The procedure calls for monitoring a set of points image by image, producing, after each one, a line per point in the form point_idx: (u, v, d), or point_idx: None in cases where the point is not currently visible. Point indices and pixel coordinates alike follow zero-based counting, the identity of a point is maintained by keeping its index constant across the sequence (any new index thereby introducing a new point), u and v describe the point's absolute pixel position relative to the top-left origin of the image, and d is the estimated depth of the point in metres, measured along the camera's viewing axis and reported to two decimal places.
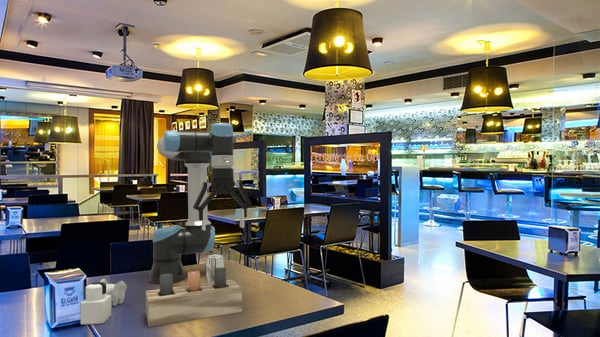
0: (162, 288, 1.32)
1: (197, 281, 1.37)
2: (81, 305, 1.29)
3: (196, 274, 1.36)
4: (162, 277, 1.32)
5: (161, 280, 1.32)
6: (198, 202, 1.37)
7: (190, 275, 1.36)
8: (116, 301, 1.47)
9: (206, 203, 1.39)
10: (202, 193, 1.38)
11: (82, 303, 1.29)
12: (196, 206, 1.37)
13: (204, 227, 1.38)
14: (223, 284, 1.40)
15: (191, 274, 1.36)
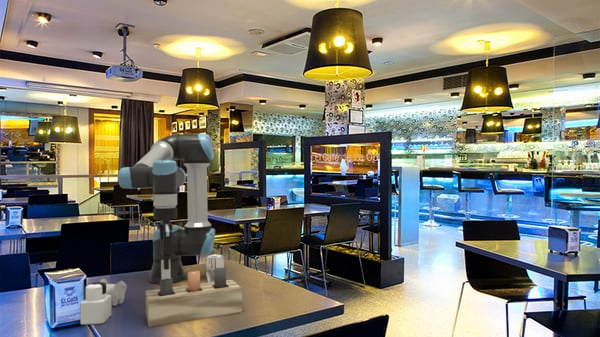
0: (162, 292, 1.32)
1: (197, 281, 1.37)
2: (81, 305, 1.29)
3: (196, 274, 1.36)
4: (162, 281, 1.32)
5: (161, 284, 1.32)
6: (160, 247, 1.37)
7: (190, 275, 1.36)
8: (116, 301, 1.47)
9: (161, 248, 1.35)
10: (160, 237, 1.38)
11: (82, 303, 1.29)
12: (160, 252, 1.37)
13: (161, 275, 1.34)
14: (223, 284, 1.40)
15: (191, 274, 1.36)
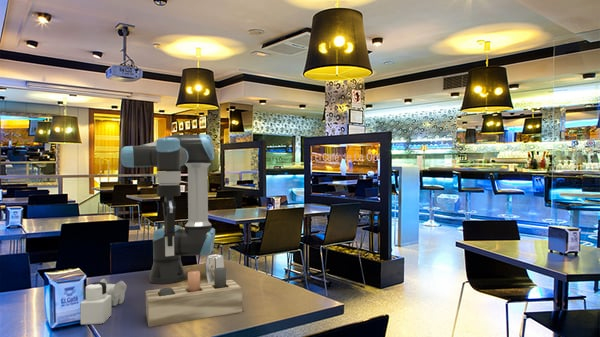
0: None
1: (197, 281, 1.37)
2: (81, 305, 1.29)
3: (196, 274, 1.36)
4: (162, 292, 1.32)
5: (161, 295, 1.32)
6: (164, 225, 1.38)
7: (190, 275, 1.36)
8: (116, 301, 1.47)
9: (165, 226, 1.35)
10: (164, 215, 1.38)
11: (82, 303, 1.29)
12: (164, 229, 1.37)
13: (165, 252, 1.35)
14: (223, 284, 1.40)
15: (191, 274, 1.36)
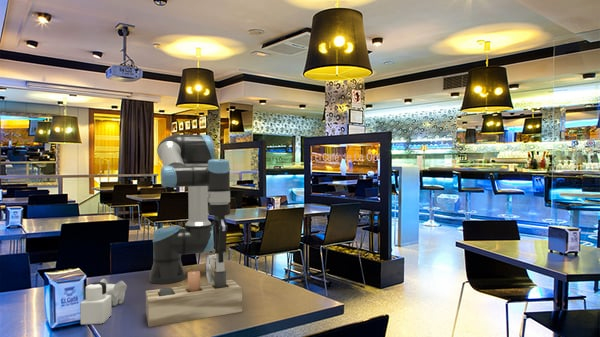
0: None
1: (197, 281, 1.37)
2: (81, 305, 1.29)
3: (196, 274, 1.36)
4: (162, 292, 1.32)
5: (161, 295, 1.32)
6: (214, 242, 1.44)
7: (190, 275, 1.36)
8: (116, 301, 1.47)
9: (215, 243, 1.42)
10: (213, 233, 1.45)
11: (82, 303, 1.29)
12: (214, 246, 1.44)
13: (216, 268, 1.41)
14: (223, 287, 1.40)
15: (191, 274, 1.36)
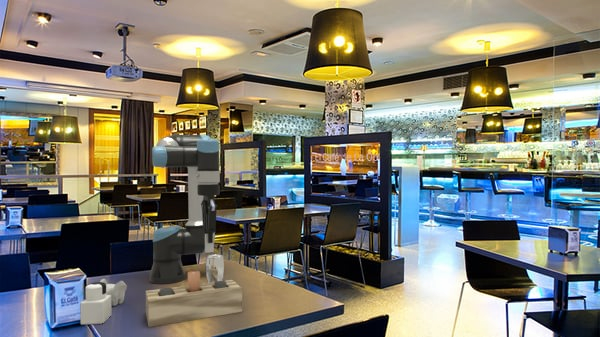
0: None
1: (197, 281, 1.37)
2: (81, 305, 1.29)
3: (196, 274, 1.36)
4: (162, 292, 1.32)
5: (161, 295, 1.32)
6: (203, 223, 1.43)
7: (190, 275, 1.36)
8: (116, 301, 1.47)
9: (204, 223, 1.41)
10: (202, 213, 1.44)
11: (82, 303, 1.29)
12: (203, 227, 1.43)
13: (205, 249, 1.40)
14: None
15: (191, 274, 1.36)
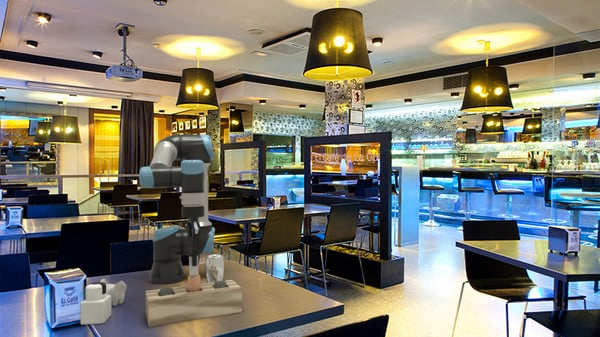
0: None
1: (197, 285, 1.37)
2: (81, 305, 1.29)
3: (196, 278, 1.36)
4: (162, 292, 1.32)
5: (161, 295, 1.32)
6: (188, 245, 1.41)
7: (190, 279, 1.36)
8: (116, 301, 1.47)
9: (189, 246, 1.38)
10: (187, 235, 1.41)
11: (82, 303, 1.29)
12: (188, 249, 1.40)
13: (189, 272, 1.38)
14: None
15: (191, 278, 1.36)
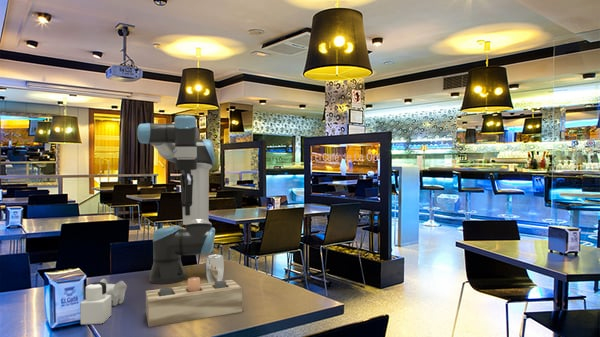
0: None
1: (197, 288, 1.37)
2: (81, 305, 1.29)
3: (196, 281, 1.36)
4: (162, 292, 1.32)
5: (161, 295, 1.32)
6: (181, 196, 1.49)
7: (190, 282, 1.36)
8: (116, 301, 1.47)
9: (182, 197, 1.47)
10: None
11: (82, 303, 1.29)
12: (181, 200, 1.49)
13: (183, 221, 1.47)
14: None
15: (191, 281, 1.36)
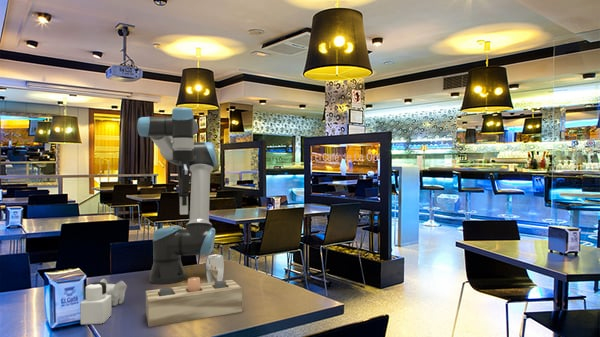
0: None
1: (197, 288, 1.37)
2: (81, 305, 1.29)
3: (196, 281, 1.36)
4: (162, 292, 1.32)
5: (161, 295, 1.32)
6: None
7: (190, 282, 1.36)
8: (116, 301, 1.47)
9: (179, 187, 1.50)
10: (178, 179, 1.53)
11: (82, 303, 1.29)
12: None
13: (180, 211, 1.49)
14: None
15: (191, 281, 1.36)
